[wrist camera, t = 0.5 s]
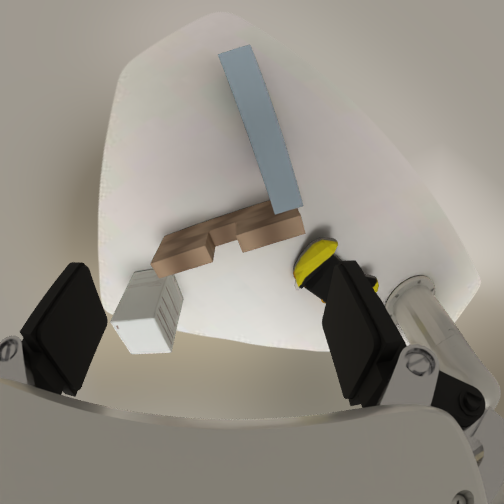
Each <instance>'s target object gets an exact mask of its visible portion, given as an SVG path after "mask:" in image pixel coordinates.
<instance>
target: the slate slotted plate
mask: <svg viewBox="0 0 504 504" xmlns="http://www.w3.org/2000/svg"><path fill="white" fill-rule="evenodd" d="M218 56H219V59H220V61H221V64H222V66H223V69H224V72H225V74H226V77H227V79H228V82H229V85H230V87H231V90H232V93H233V95H234V98H235V101H236V103H237V106H238V109H239V112H240V114H241V117H242V120H243V123H244V125H245V128H246V131H247V134H248V137H249V139H250V142H251V145H252V148H253V151H254V154H255V157H256V159H257V162H258V165H259V168H260V171H261V174H262V177H263V180H264V183H265V186H266V189H267V192H268V195H269V198H270V201H271V204H272V207H273V210H274V213H275V215H276V214H279V213H282V212H285V211H289V210H292V209H295V208H298V207H302V206H303V203H302V199H301V196H300V192H299V188H298V185H297V181H296V178H295V175H294V171H293V168H292V164H291V161H290V158H289V154H288V151H287V148H286V145H285V142H284V138H283V135H282V132H281V129H280V126H279V123H278V120H277V117H276V114H275V111H274V108H273V105H272V102H271V99H270V97H269V94H268V91H267V88H266V85H265V83H264V80H263V77H262V74H261V72H260V69H259V66H258V64H257V61H256V58H255V56H254V53H253V51H252V48H251V46H250V45H247V46H243V47H240V48H236V49H233V50H230V51H227V52H224V53H221V54H218Z"/></svg>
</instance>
